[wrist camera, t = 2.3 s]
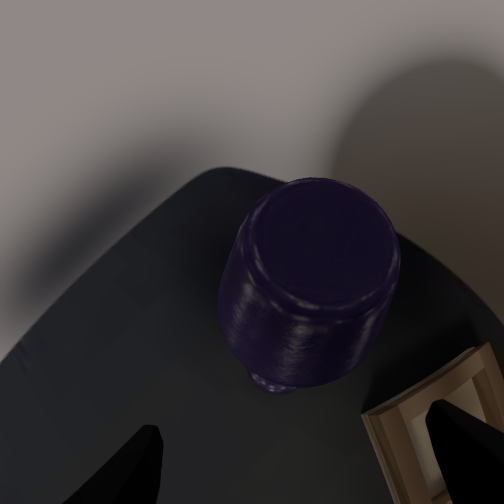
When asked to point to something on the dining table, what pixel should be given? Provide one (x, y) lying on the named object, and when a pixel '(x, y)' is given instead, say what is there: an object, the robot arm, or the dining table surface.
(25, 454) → the dining table surface
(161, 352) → the dining table surface
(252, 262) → the toy lamp
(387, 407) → the frame
